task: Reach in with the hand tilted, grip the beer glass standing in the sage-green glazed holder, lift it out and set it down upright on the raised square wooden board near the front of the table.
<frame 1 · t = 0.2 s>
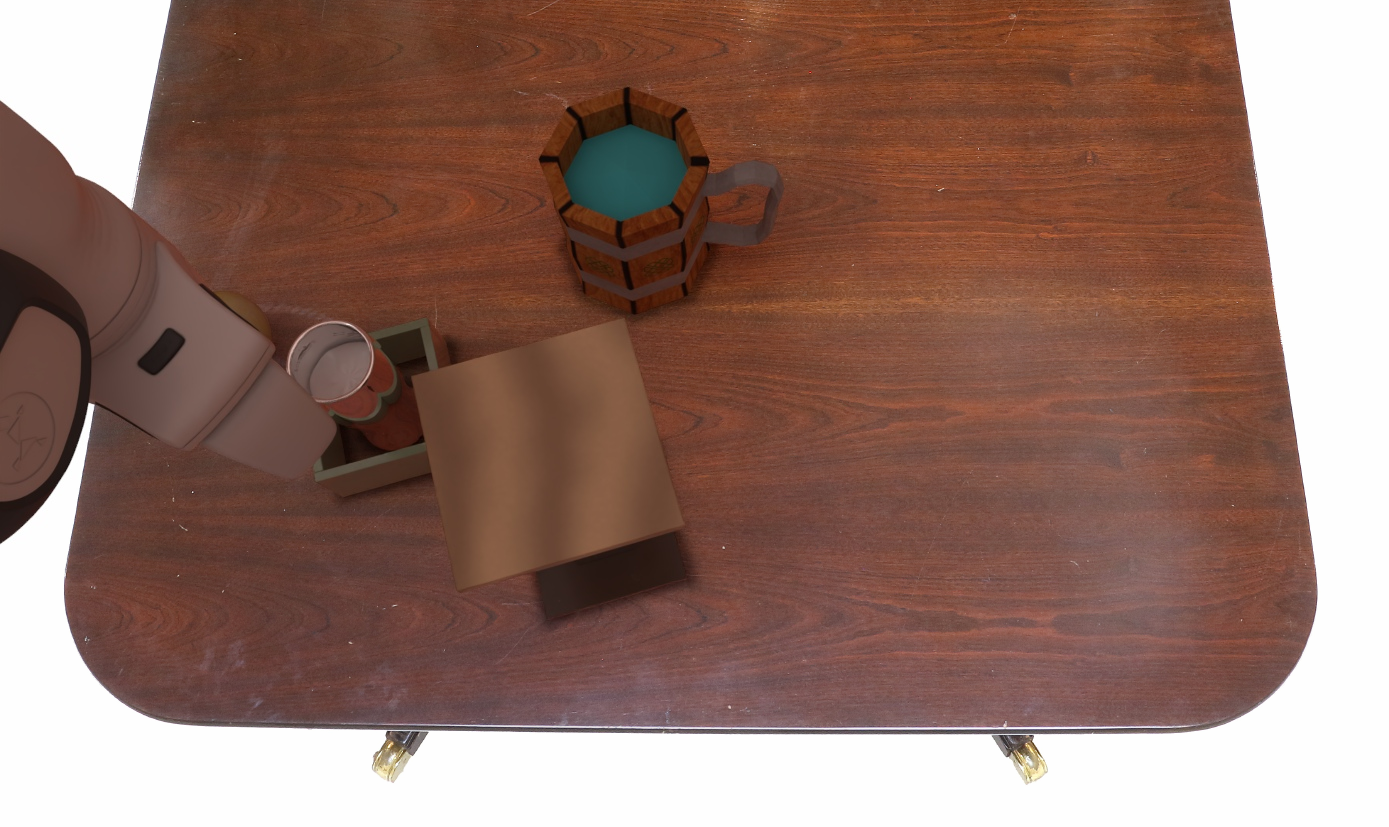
hand: (230, 390, 57), 26 cm above the table, tool pointing down, fingers open, 8 cm apart
stand post: (600, 531, 80), on the table
holder: (396, 418, 83), on the table
square wooden board: (547, 452, 54), resting on stand post
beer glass: (396, 418, 83), resting in holder
mug: (670, 249, 88), on the table
fruit: (247, 354, 86), on the table
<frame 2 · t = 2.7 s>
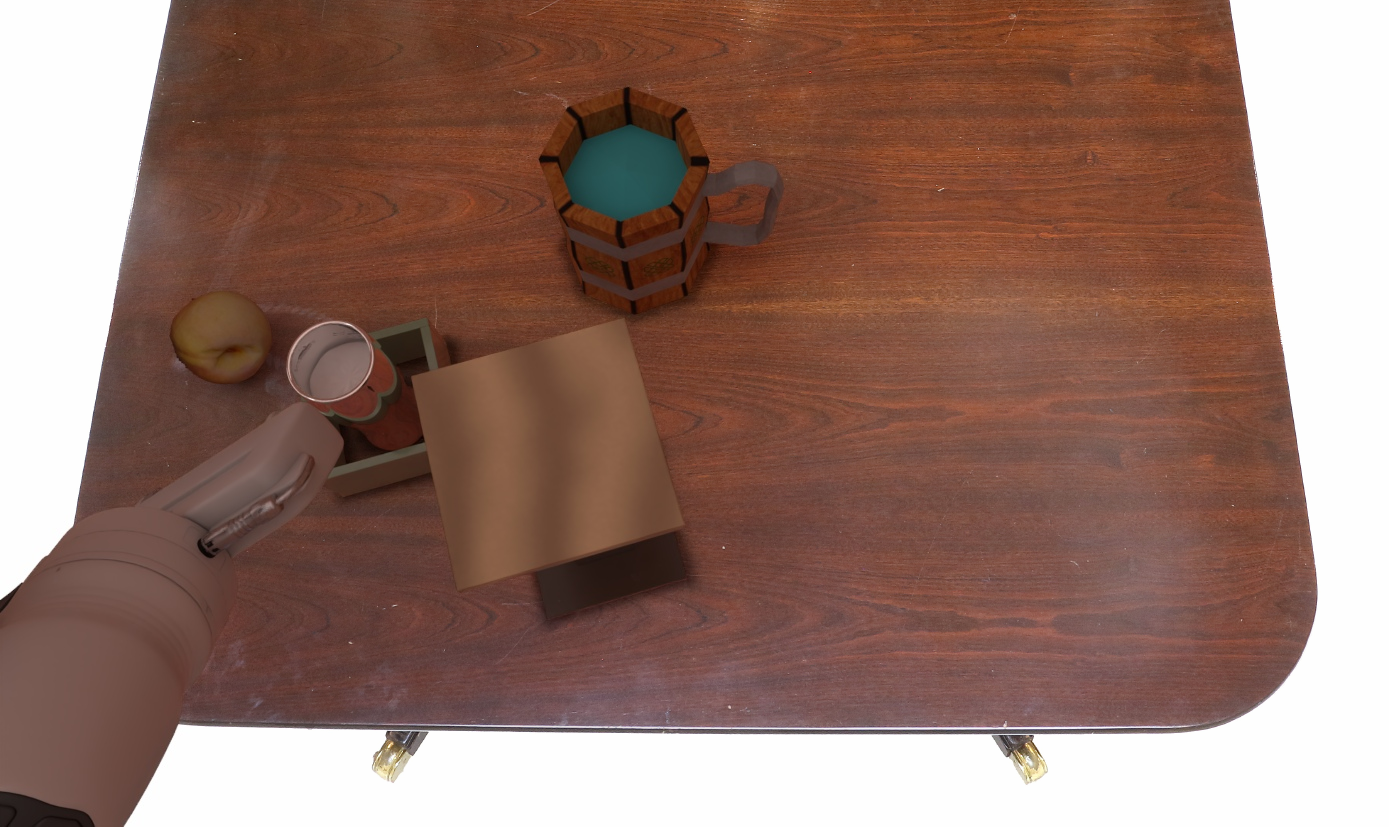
hand: (218, 462, 60), 22 cm above the table, tool tilted 45°, fingers open, 8 cm apart
nothing on the table moved.
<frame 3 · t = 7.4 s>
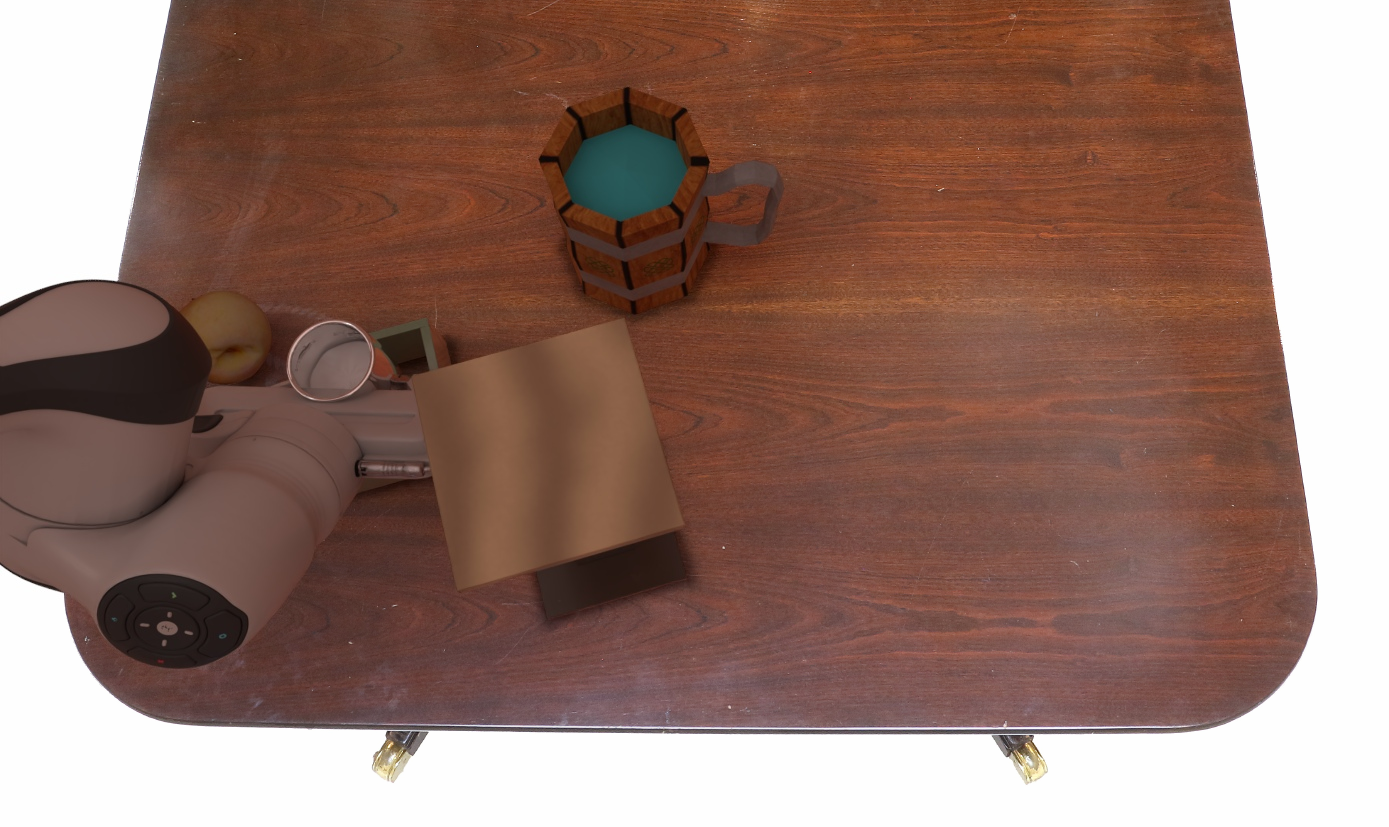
hand: (362, 380, 75), 8 cm above the table, tool tilted 45°, fingers closed on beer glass, 7 cm apart
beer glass: (397, 418, 83), resting in holder, touching gripper
everything else where it was.
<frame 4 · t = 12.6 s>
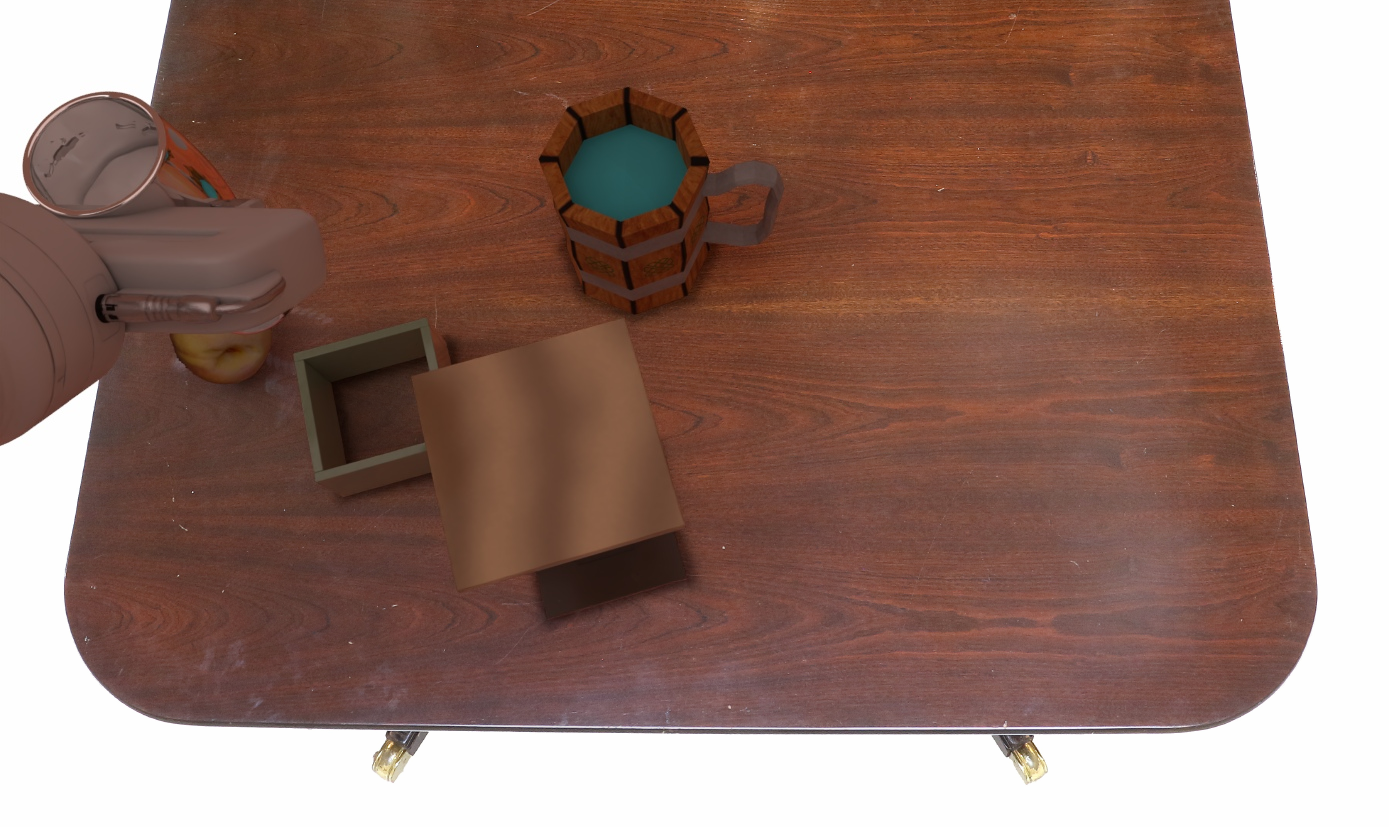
hand: (176, 212, 49), 36 cm above the table, tool tilted 45°, fingers closed on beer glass, 7 cm apart
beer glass: (253, 290, 57), point 27 cm above the table, touching gripper
everything else where it was.
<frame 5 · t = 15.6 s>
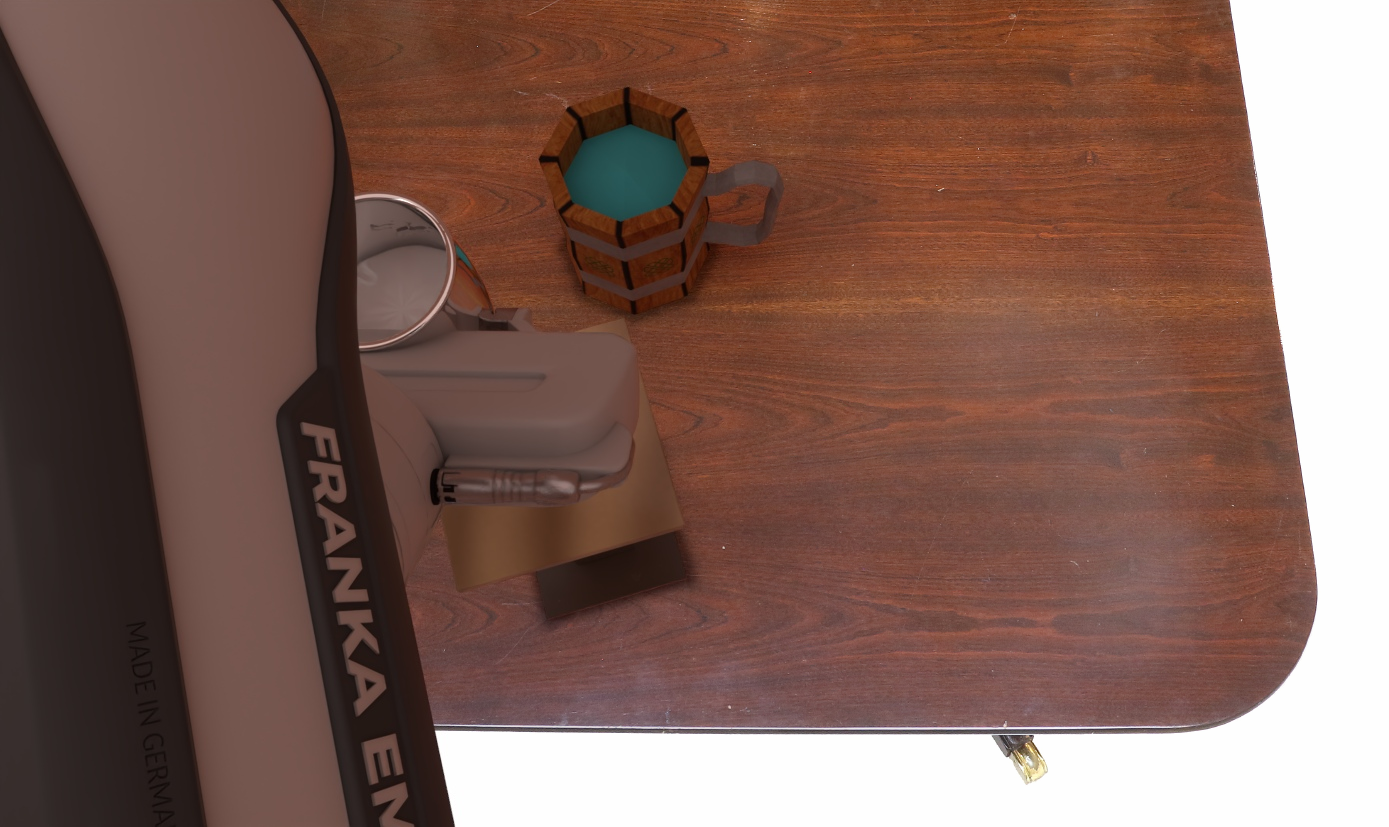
hand: (423, 322, 41), 41 cm above the table, tool tilted 45°, fingers closed on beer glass, 7 cm apart
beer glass: (472, 395, 49), point 33 cm above the table, touching gripper
everything else where it was.
when the fingers open (36 cm above the table, at t = 18.1 s): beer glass stays where it is, resting on square wooden board.
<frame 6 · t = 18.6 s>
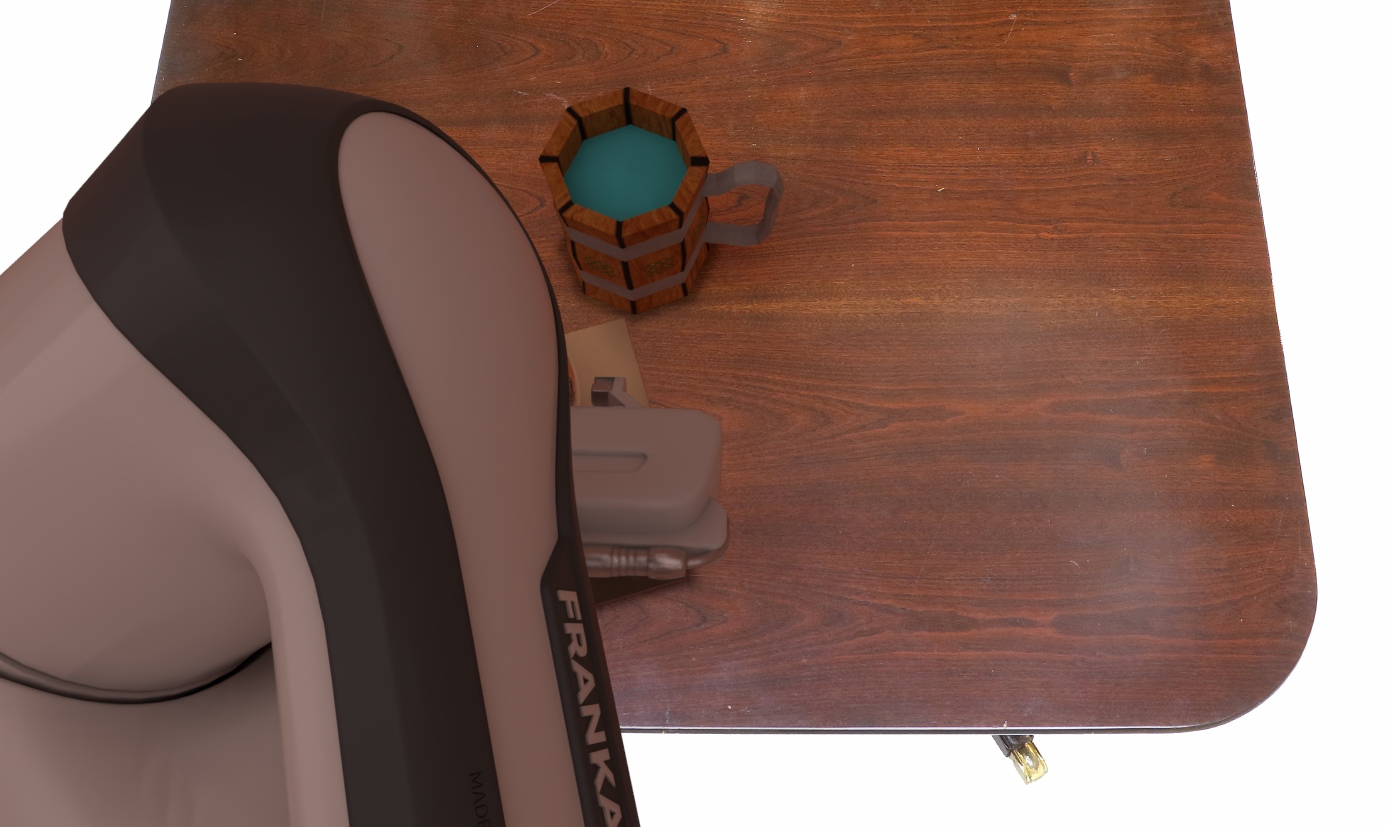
hand: (513, 387, 45), 37 cm above the table, tool tilted 45°, fingers open, 8 cm apart
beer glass: (543, 450, 53), point 28 cm above the table, touching square wooden board
everything else where it was.
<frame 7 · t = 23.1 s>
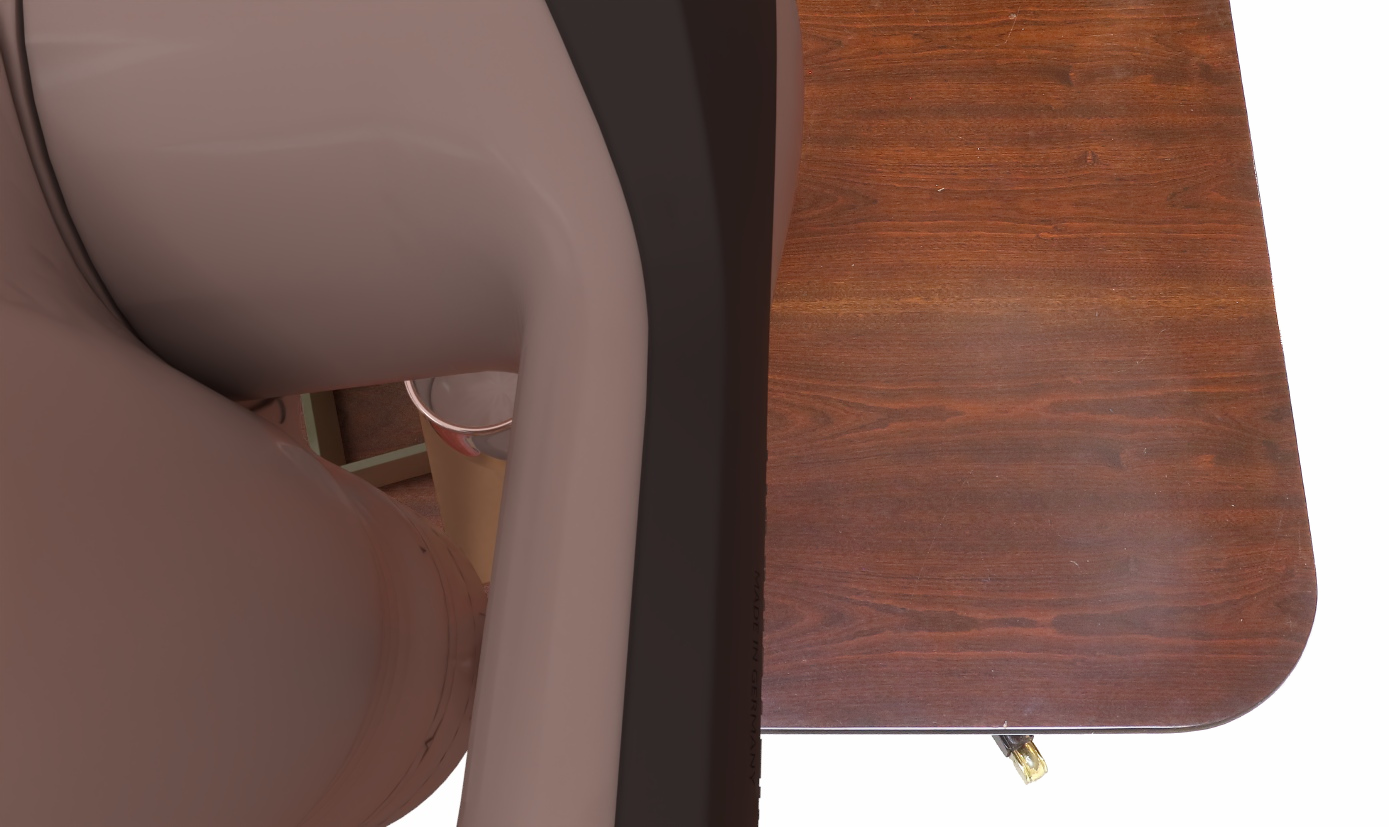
hand: (453, 671, 36), 42 cm above the table, tool pointing down, fingers open, 8 cm apart
nothing on the table moved.
at the end: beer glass inside the target area on the square wooden board (0.1 cm from its centre), point 0.8 cm above the square wooden board's base; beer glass tilted 0°; the gripper is holding nothing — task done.
